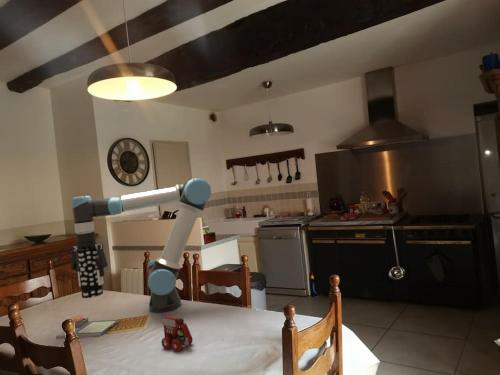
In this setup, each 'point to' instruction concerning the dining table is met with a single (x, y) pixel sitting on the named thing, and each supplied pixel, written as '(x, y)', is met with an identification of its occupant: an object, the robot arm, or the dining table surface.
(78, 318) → the button
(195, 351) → the dining table surface
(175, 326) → the toy fire truck
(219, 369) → the dining table surface
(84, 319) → the picture board
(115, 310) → the dining table surface
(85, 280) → the white-spotted black cylinder
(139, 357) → the dining table surface
